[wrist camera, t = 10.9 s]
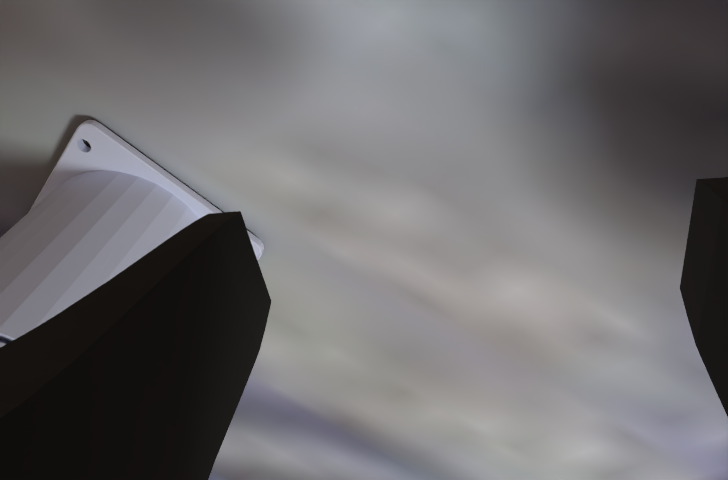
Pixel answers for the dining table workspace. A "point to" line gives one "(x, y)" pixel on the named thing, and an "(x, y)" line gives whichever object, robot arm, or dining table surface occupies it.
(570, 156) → the dining table surface
